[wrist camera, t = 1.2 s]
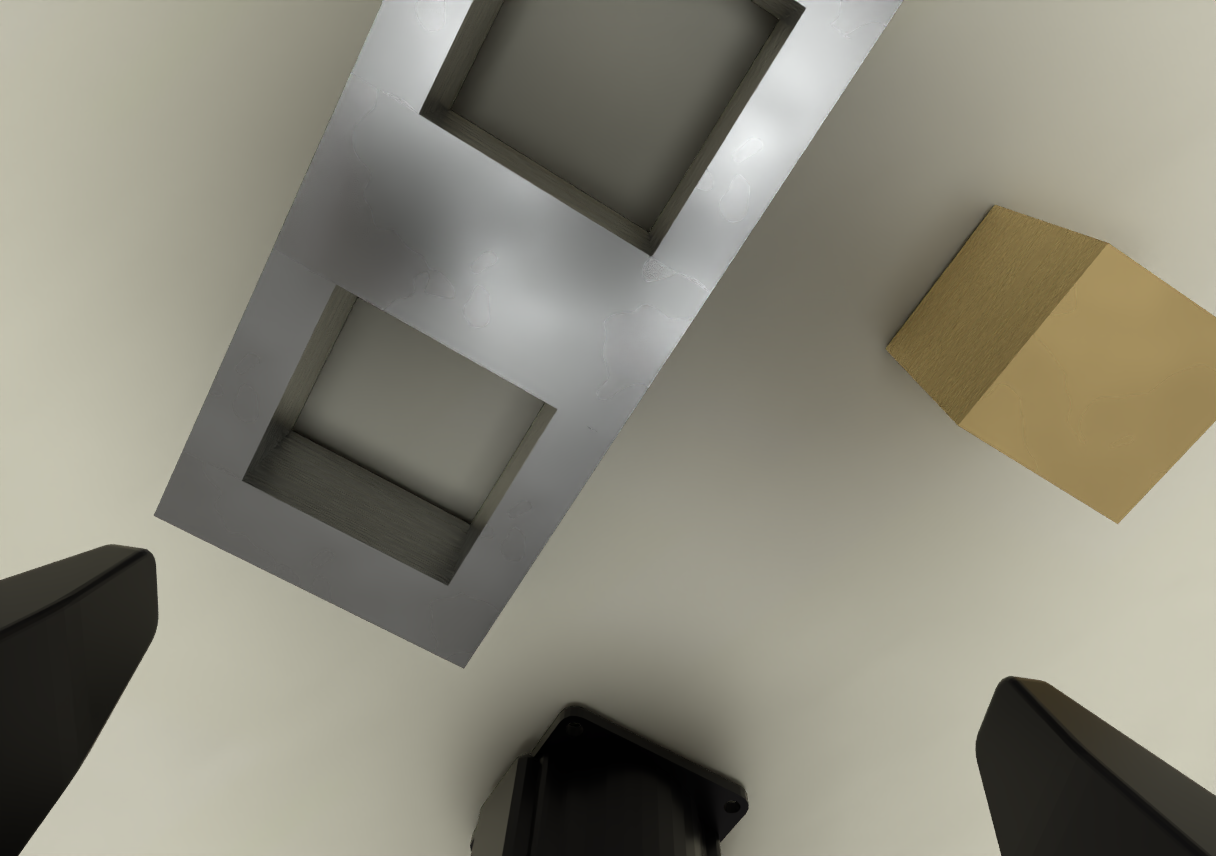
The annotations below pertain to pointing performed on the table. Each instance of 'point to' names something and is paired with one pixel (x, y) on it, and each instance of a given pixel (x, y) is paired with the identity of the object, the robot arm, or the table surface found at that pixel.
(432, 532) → the grey slotted block
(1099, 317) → the brass block
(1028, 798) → the robot arm
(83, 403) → the table surface
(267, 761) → the table surface
